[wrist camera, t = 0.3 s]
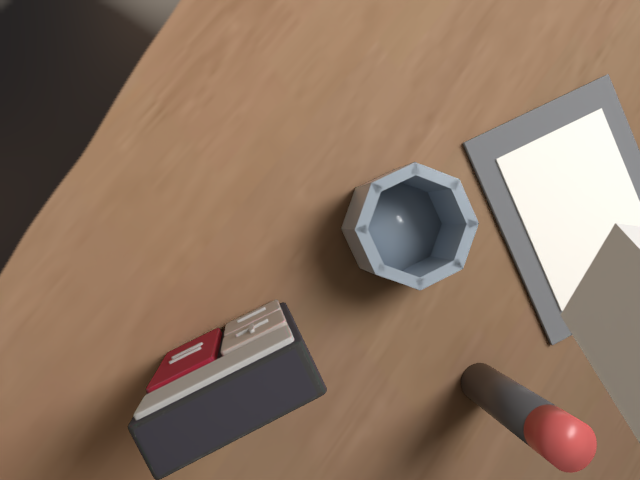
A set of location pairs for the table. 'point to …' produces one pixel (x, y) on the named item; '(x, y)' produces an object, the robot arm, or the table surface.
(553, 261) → the writing pad
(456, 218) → the pen cup
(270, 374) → the grey and red block
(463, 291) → the table surface
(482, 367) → the marker
